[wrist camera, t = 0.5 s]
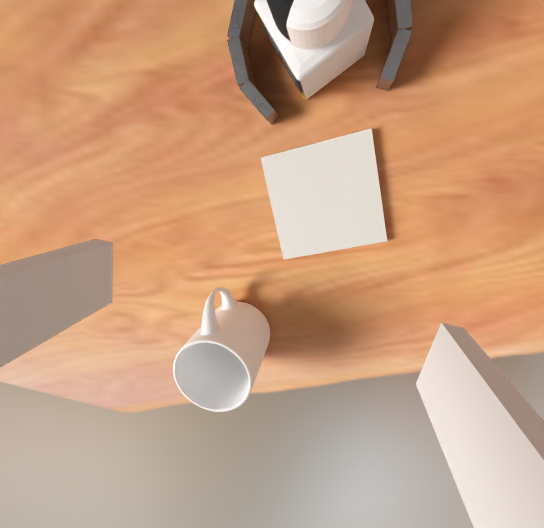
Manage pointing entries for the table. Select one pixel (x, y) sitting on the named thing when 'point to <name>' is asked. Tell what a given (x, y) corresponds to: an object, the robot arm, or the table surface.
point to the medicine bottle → (316, 37)
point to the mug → (223, 354)
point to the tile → (326, 195)
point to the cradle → (242, 32)
